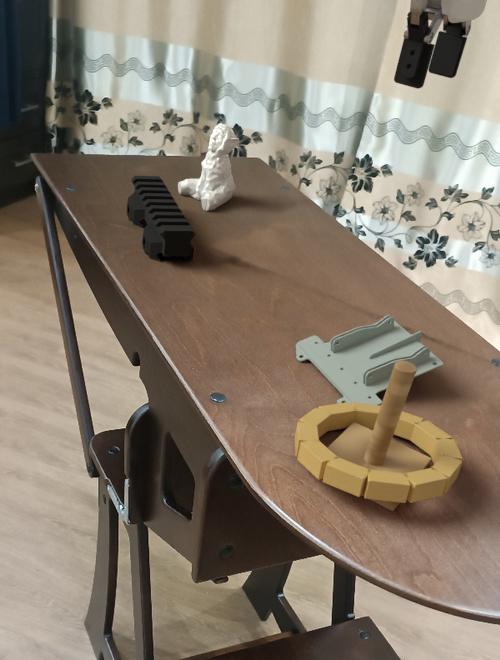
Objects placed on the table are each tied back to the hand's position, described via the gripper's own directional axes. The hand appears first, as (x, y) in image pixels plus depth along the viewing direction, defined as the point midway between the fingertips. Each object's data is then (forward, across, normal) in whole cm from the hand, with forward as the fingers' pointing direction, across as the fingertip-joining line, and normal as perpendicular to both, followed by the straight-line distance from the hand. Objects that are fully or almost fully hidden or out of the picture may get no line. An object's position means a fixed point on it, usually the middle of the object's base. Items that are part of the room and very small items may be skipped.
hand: (425, 79), depth 78 cm
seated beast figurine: (+28, +18, +38) cm, 51 cm away
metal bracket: (+28, -13, -8) cm, 32 cm away
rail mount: (+28, -1, +34) cm, 45 cm away
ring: (+27, -30, -16) cm, 43 cm away
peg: (+28, -30, -16) cm, 44 cm away
